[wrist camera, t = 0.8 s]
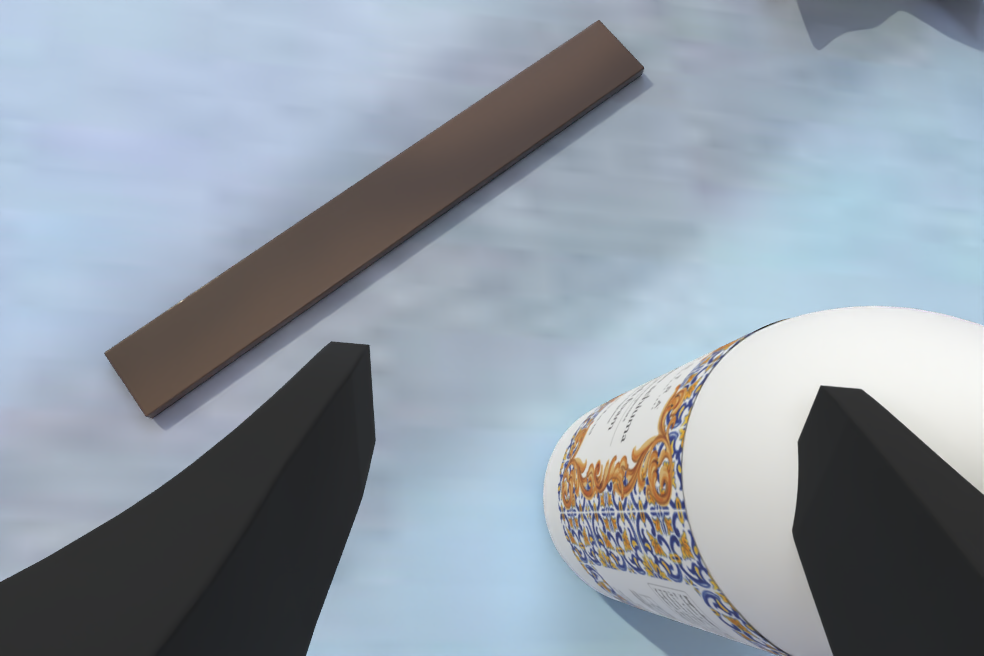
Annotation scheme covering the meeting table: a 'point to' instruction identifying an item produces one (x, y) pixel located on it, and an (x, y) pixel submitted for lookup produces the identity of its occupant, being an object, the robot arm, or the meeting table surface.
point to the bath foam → (748, 465)
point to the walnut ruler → (368, 220)
